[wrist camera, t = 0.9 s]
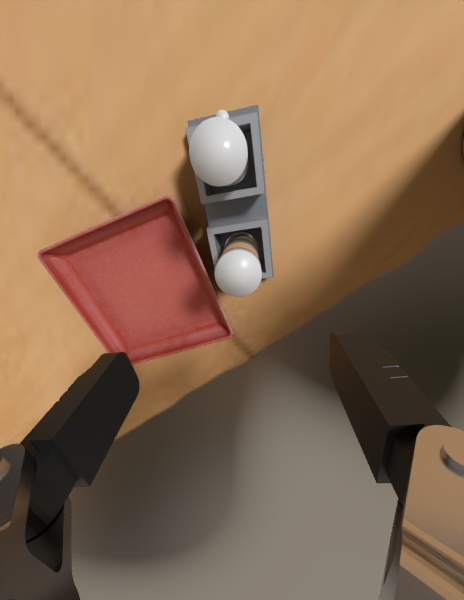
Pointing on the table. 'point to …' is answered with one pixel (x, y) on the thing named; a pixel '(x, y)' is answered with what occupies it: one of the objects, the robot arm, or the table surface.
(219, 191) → the block
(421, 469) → the robot arm
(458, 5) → the table surface
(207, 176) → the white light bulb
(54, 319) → the table surface
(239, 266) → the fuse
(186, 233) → the plant saucer
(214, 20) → the table surface
